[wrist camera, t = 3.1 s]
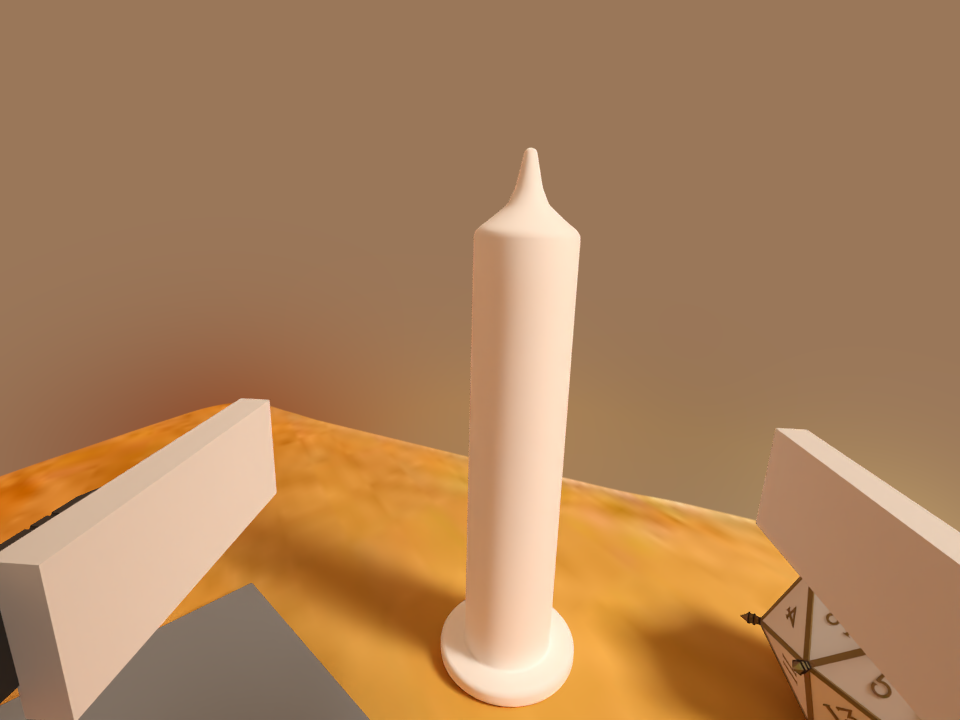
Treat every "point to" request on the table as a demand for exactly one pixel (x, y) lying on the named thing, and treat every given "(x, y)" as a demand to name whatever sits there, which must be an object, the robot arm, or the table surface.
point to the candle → (516, 452)
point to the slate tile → (221, 671)
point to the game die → (826, 662)
